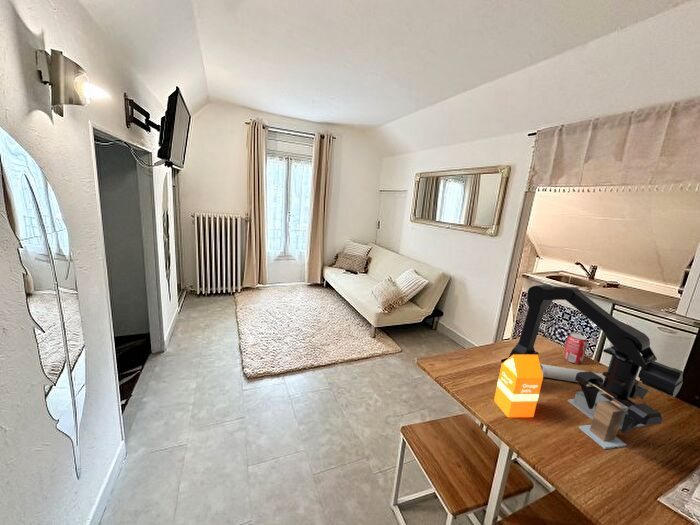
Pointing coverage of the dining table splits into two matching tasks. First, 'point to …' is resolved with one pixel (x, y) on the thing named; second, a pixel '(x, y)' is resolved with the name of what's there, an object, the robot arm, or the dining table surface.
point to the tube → (562, 373)
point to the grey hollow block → (601, 396)
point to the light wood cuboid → (606, 420)
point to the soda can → (575, 348)
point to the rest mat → (602, 443)
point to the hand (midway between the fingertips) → (606, 420)
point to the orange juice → (519, 385)
